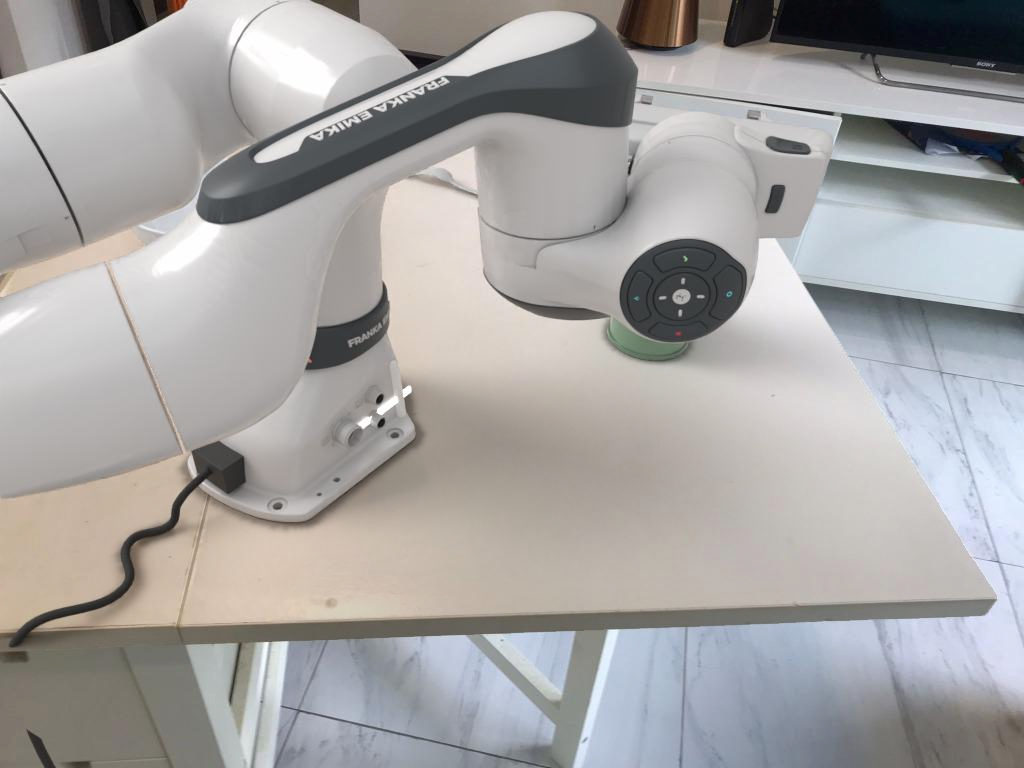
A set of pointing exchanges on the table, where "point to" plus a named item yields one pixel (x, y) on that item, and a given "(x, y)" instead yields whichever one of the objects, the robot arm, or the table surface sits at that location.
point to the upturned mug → (641, 344)
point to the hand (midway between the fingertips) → (698, 111)
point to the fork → (445, 177)
